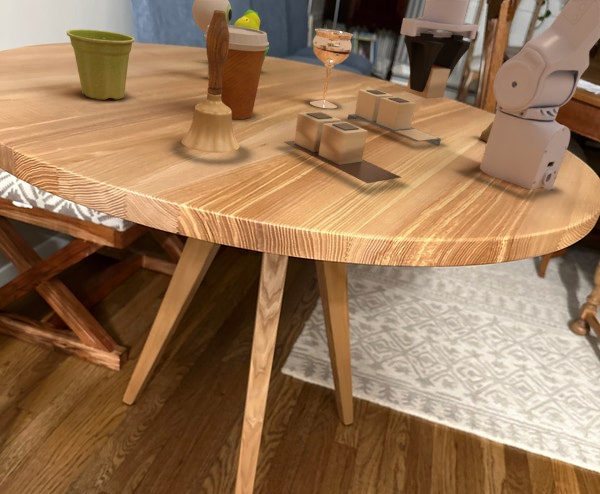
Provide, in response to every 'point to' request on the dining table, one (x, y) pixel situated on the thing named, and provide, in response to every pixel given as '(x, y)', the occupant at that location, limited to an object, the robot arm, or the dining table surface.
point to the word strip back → (390, 114)
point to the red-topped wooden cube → (433, 83)
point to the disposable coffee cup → (242, 69)
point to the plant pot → (101, 62)
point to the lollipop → (209, 12)
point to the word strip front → (337, 145)
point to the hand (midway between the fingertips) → (426, 90)
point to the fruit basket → (250, 22)
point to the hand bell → (213, 97)
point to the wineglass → (330, 55)
